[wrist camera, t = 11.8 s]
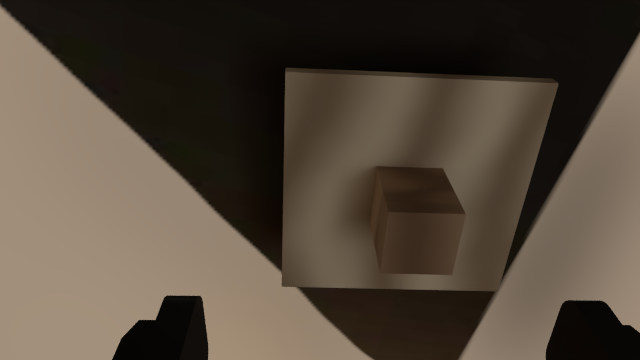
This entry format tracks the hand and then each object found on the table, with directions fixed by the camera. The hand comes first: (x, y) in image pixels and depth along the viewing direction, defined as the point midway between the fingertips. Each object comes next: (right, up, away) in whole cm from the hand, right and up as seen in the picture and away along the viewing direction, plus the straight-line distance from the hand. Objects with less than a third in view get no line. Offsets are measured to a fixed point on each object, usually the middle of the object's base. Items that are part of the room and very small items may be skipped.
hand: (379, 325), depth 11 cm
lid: (+4, +3, +20) cm, 21 cm away
